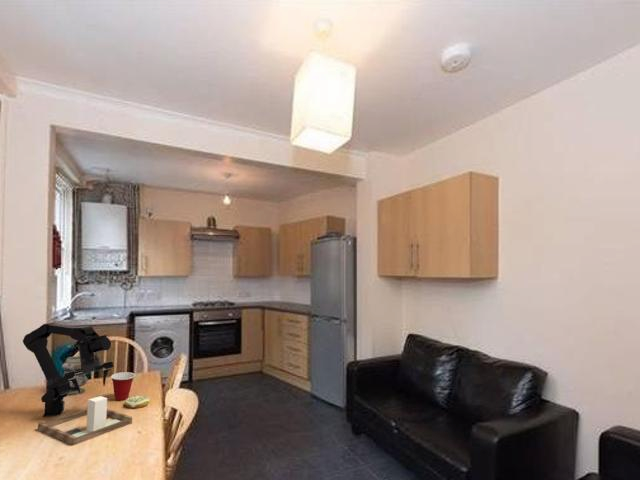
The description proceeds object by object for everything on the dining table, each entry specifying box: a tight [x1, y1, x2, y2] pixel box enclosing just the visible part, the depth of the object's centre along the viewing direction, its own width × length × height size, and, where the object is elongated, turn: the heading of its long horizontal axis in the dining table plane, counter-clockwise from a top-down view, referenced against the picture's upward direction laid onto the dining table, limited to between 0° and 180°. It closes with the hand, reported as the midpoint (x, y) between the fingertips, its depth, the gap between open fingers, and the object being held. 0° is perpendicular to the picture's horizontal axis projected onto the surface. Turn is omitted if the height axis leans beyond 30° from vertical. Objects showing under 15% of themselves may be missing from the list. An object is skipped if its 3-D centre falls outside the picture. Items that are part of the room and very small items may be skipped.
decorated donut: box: [124, 394, 150, 409], centre depth 178 cm, size 10×11×4 cm
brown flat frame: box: [37, 408, 133, 446], centre depth 153 cm, size 26×24×2 cm
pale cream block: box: [85, 395, 109, 432], centre depth 150 cm, size 5×5×12 cm
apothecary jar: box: [61, 355, 89, 396], centre depth 194 cm, size 12×12×18 cm
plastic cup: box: [110, 371, 136, 402], centre depth 185 cm, size 11×11×12 cm
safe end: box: [73, 419, 120, 437], centre depth 149 cm, size 8×21×1 cm, turn 151°
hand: (92, 389), depth 164 cm, fingers open, 9 cm apart
